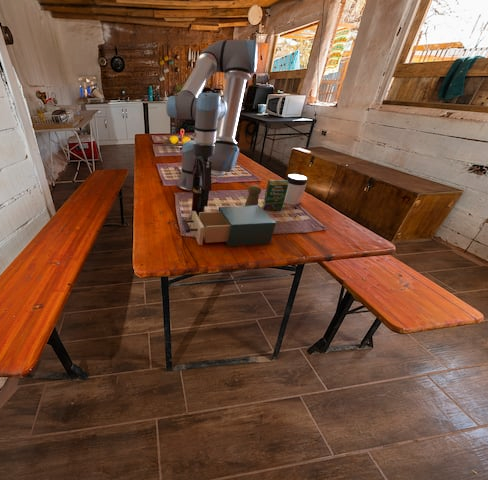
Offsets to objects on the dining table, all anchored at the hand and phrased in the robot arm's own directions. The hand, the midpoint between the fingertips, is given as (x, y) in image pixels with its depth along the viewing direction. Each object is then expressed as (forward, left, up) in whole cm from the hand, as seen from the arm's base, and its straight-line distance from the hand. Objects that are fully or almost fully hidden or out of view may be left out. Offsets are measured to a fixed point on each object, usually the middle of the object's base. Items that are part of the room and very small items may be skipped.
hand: (199, 198), depth 102 cm
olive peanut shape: (-4, +25, -8) cm, 27 cm away
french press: (-56, +25, -8) cm, 62 cm away
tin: (0, 0, -8) cm, 8 cm away
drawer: (+16, 0, -7) cm, 18 cm away
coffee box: (-4, +35, -8) cm, 36 cm away
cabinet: (+16, +13, -8) cm, 22 cm away
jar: (-11, +48, -8) cm, 50 cm away
